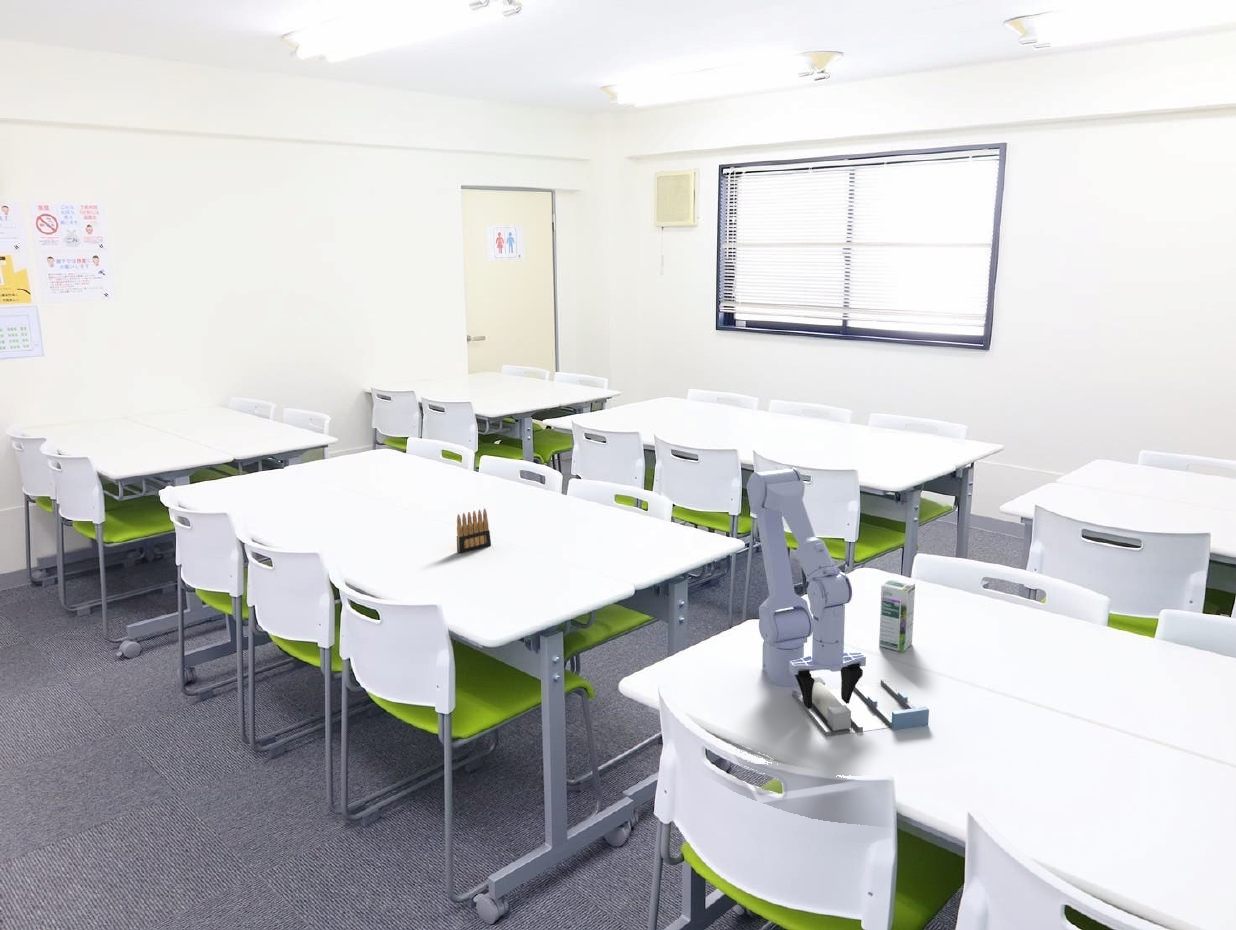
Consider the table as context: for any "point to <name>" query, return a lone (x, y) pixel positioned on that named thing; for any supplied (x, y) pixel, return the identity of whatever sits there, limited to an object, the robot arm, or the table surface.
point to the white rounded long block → (830, 706)
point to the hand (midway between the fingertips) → (826, 703)
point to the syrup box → (896, 614)
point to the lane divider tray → (872, 710)
